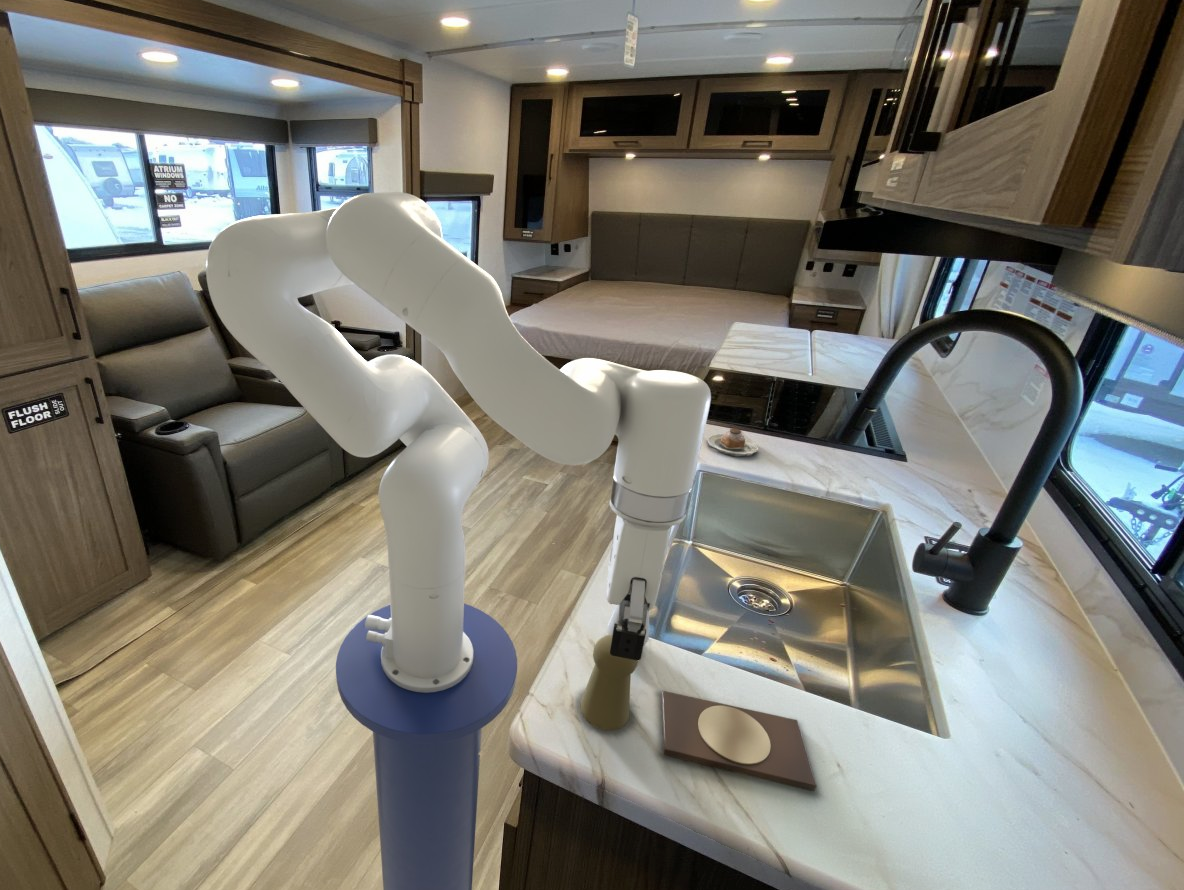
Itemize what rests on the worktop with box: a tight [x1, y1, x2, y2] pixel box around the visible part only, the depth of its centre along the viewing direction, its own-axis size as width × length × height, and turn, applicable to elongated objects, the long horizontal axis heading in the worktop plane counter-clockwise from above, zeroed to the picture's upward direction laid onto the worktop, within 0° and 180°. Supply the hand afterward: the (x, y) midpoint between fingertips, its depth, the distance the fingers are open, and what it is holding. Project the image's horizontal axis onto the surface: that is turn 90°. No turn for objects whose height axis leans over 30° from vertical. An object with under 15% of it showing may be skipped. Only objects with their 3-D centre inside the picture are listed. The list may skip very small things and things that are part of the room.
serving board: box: [660, 690, 818, 792], centre depth 68 cm, size 16×9×1 cm, turn 75°
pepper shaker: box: [579, 634, 639, 731], centre depth 70 cm, size 6×6×11 cm
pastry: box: [707, 428, 759, 458], centre depth 144 cm, size 12×12×5 cm
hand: (625, 625), depth 65 cm, fingers open, 9 cm apart
